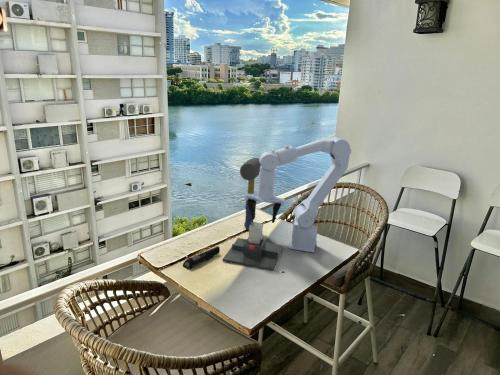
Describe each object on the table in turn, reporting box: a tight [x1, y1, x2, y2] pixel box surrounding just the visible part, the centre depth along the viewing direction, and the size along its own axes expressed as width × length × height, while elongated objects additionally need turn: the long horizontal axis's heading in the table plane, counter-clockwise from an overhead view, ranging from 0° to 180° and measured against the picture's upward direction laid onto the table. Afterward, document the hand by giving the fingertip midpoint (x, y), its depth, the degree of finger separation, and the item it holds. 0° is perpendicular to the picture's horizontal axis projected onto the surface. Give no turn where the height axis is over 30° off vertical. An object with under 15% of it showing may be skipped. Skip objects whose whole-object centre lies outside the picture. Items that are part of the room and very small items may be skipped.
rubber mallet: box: [239, 157, 261, 231], centre depth 147 cm, size 12×8×30 cm, turn 164°
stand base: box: [222, 236, 284, 272], centre depth 130 cm, size 18×18×5 cm
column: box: [248, 221, 264, 246], centre depth 128 cm, size 4×4×8 cm
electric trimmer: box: [182, 245, 221, 270], centre depth 124 cm, size 4×16×3 cm, turn 140°
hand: (263, 220), depth 134 cm, fingers open, 7 cm apart
